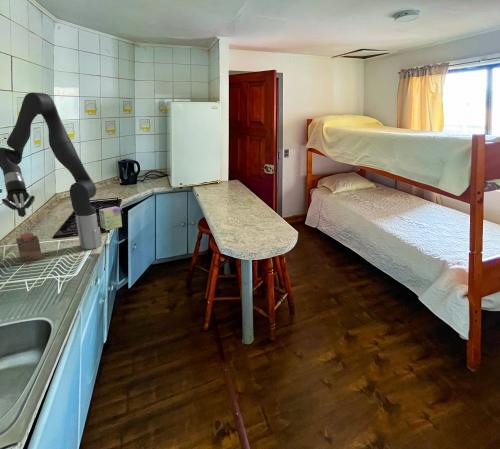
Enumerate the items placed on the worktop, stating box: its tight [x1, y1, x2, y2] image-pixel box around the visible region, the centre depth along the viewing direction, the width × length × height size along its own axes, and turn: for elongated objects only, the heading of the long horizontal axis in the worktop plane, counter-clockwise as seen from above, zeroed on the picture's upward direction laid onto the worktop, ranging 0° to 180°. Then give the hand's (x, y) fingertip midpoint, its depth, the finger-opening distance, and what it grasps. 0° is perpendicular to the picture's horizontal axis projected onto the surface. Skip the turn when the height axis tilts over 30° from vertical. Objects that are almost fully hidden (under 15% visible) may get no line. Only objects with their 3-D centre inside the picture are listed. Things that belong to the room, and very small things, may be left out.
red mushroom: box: [19, 232, 35, 241], centre depth 154 cm, size 5×5×10 cm
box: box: [98, 206, 123, 231], centre depth 197 cm, size 10×6×12 cm, turn 141°
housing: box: [16, 235, 43, 263], centre depth 154 cm, size 8×8×9 cm
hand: (22, 215), depth 150 cm, fingers closed
